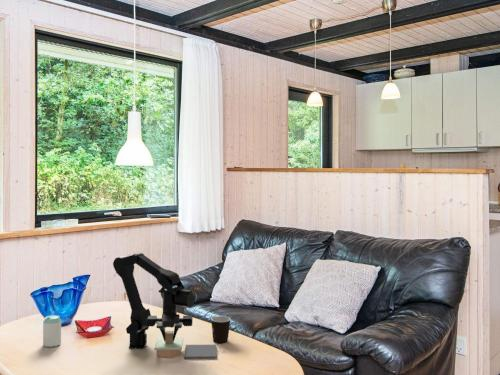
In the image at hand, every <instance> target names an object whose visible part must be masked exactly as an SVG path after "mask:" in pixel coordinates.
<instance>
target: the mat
mask: <svg viewBox="0 0 500 375" xmlns="http://www.w3.org/2000/svg"><path fill="white" fill-rule="evenodd" d="M183 355H184V356H183V359H184V360H217V357H218V355H217V344H185V348H184V354H183Z"/></svg>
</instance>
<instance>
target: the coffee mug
mask: <svg viewBox="0 0 500 375" xmlns="http://www.w3.org/2000/svg"><path fill="white" fill-rule="evenodd" d="M210 320H211V332H212V342H213V343H215V344H216V345H224V344H227V343H228V341H229V333H230V326H231V318H230V317H229V316H225V315H219V316H218V315H217V316H213V317H211V318H210Z"/></svg>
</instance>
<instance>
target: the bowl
mask: <svg viewBox="0 0 500 375" xmlns="http://www.w3.org/2000/svg"><path fill="white" fill-rule="evenodd" d="M155 351H156V356H158V357H160V358H163V359H171V358H172V359H173V358H177V357H179V356H181V354H182V350H155Z"/></svg>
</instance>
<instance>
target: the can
mask: <svg viewBox="0 0 500 375" xmlns="http://www.w3.org/2000/svg"><path fill="white" fill-rule="evenodd" d="M61 343H62V319H61V318H60V315H57V314H50V315H46V316H45V317H44V320H43V322H42V345H43V346H44V347H46V348H55V347H58V346H59V345H60V344H61Z"/></svg>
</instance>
